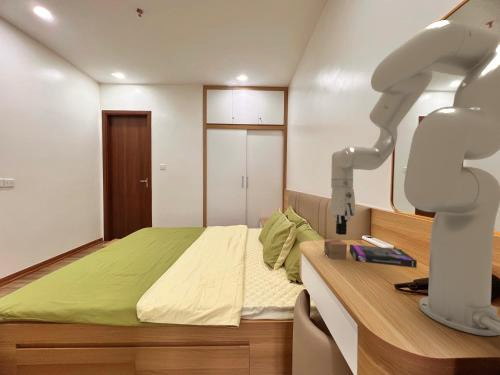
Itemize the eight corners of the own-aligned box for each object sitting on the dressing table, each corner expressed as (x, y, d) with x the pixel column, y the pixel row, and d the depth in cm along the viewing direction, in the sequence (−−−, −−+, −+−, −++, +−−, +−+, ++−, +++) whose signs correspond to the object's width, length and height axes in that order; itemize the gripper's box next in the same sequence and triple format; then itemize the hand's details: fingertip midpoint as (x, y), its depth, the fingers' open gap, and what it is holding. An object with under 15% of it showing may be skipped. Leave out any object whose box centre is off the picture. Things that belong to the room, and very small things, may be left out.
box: (355, 263, 82) (417, 269, 76) (355, 253, 82) (417, 259, 76) (349, 252, 95) (401, 257, 90) (349, 244, 95) (401, 248, 90)
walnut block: (338, 239, 89) (338, 254, 89) (324, 239, 89) (324, 254, 89) (346, 243, 83) (346, 259, 83) (331, 243, 83) (331, 259, 83)
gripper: (363, 184, 76) (362, 238, 75) (341, 185, 90) (340, 230, 90) (342, 183, 75) (341, 238, 75) (323, 185, 90) (323, 230, 89)
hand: (341, 234), depth 82 cm, fingers closed
